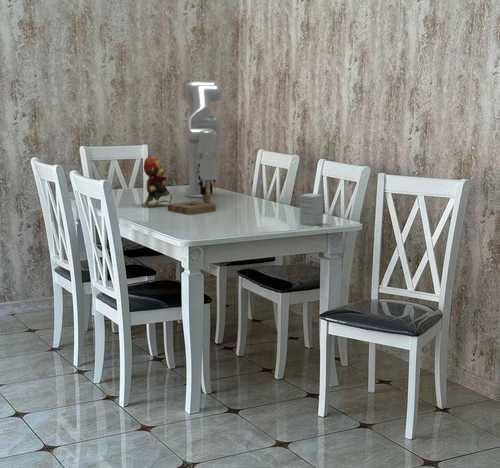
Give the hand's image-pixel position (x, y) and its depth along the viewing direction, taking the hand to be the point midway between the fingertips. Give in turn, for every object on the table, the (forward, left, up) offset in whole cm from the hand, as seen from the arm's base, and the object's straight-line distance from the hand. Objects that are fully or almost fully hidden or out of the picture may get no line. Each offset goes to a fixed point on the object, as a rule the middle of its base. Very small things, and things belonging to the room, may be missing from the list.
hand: (206, 193), depth 397 cm
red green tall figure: (-19, -16, -7) cm, 26 cm away
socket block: (+4, -13, -7) cm, 15 cm away
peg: (0, 0, -3) cm, 3 cm away
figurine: (-10, +9, -7) cm, 16 cm away
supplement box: (+65, +3, -7) cm, 65 cm away
